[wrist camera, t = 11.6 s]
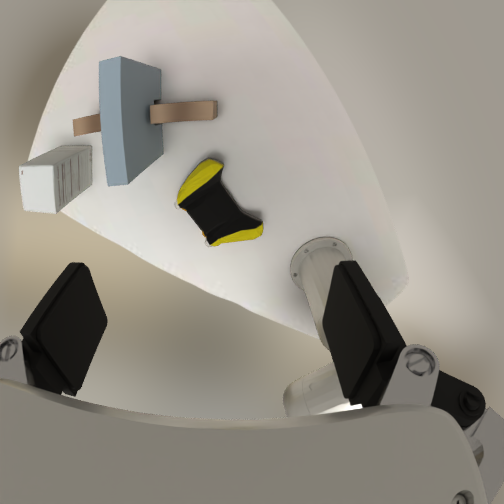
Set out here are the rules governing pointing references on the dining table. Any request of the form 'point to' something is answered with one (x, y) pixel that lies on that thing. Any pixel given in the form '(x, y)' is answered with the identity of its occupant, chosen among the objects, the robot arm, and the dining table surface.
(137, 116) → the slate slotted plate
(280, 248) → the dining table surface
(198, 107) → the walnut slotted plate
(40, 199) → the supplement box
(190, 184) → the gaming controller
